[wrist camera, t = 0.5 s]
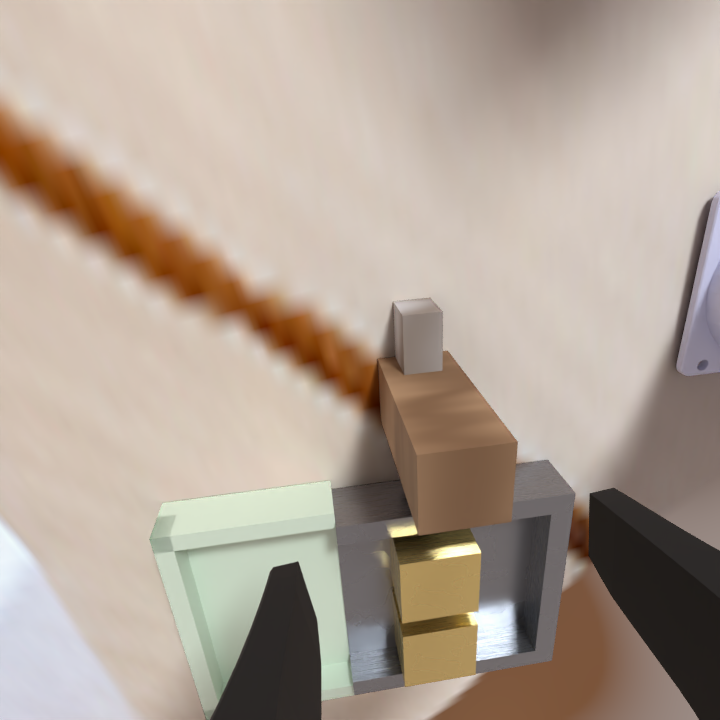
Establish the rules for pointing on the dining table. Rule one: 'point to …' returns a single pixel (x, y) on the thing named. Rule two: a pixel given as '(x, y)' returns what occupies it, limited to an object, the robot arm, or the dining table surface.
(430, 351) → the brown block with peg
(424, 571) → the brushed gold cube
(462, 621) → the chip
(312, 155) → the dining table surface
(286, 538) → the tray
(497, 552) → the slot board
